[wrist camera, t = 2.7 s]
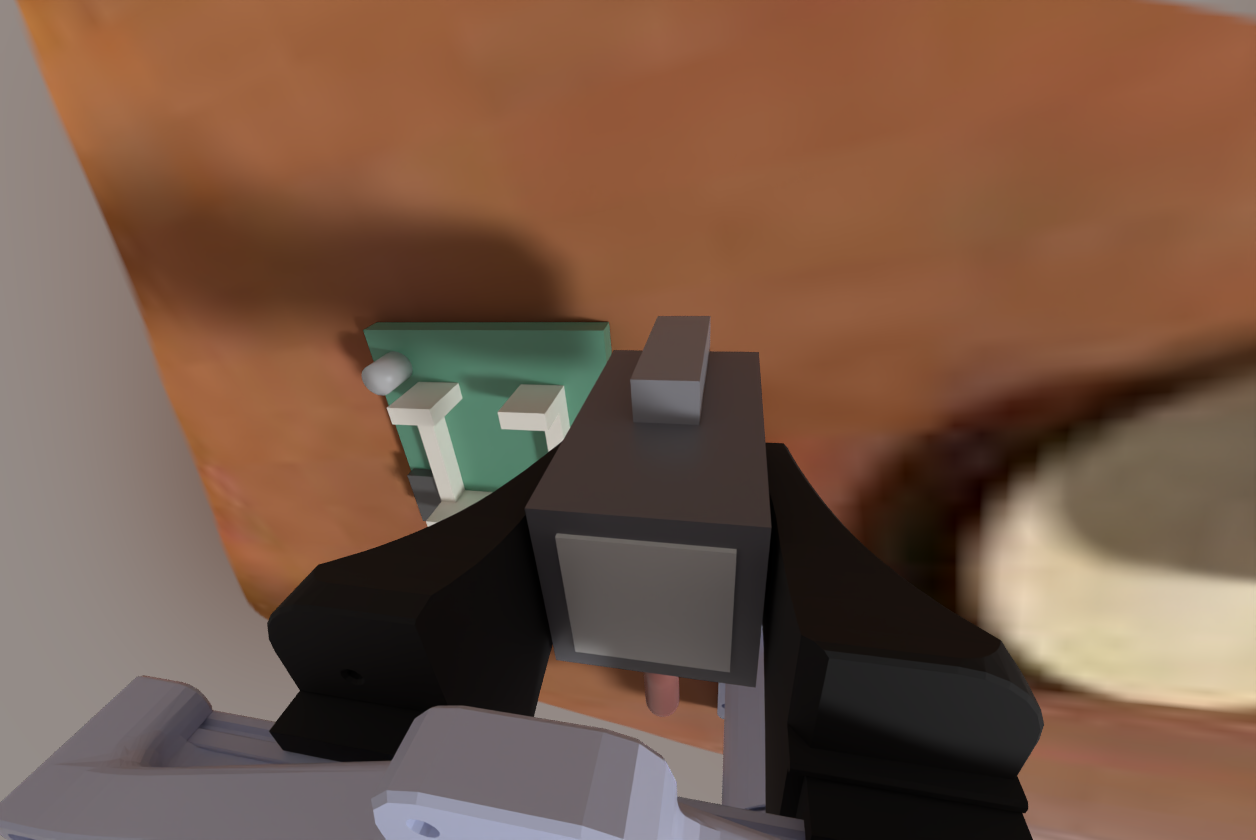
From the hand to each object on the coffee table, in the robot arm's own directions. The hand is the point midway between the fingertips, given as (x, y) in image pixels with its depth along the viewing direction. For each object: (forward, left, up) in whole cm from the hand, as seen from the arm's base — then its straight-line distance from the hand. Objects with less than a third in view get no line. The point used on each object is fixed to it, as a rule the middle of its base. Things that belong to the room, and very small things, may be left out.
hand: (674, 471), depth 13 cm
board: (-5, +9, -9) cm, 14 cm away
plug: (0, 0, -3) cm, 3 cm away
